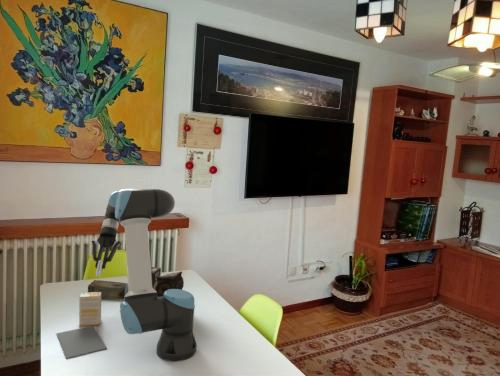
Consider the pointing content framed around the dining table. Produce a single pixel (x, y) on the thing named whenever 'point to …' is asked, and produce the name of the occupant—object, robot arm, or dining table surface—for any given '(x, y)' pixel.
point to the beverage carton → (109, 289)
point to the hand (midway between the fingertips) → (98, 274)
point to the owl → (169, 283)
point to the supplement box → (90, 308)
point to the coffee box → (155, 276)
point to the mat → (80, 341)
